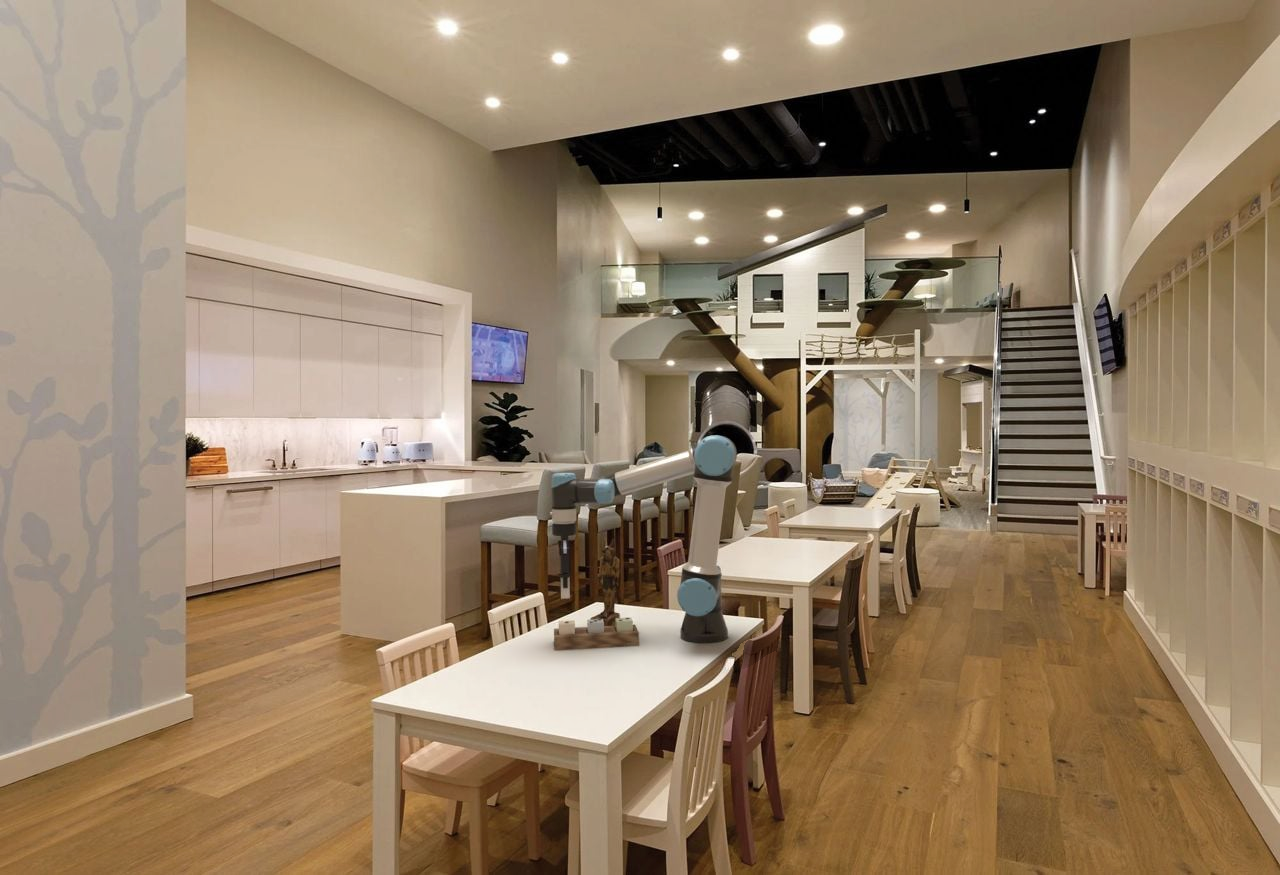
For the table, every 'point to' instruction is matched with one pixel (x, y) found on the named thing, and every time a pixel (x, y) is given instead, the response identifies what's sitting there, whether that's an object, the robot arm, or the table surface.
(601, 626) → the button
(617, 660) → the table surface
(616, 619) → the pale green block
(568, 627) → the button
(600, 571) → the statue
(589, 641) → the wooden tray
